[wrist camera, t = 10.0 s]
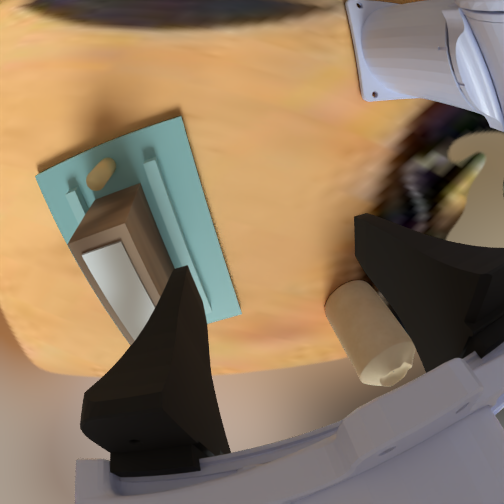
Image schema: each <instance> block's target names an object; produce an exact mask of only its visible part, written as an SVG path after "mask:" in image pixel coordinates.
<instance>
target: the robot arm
mask: <svg viewBox="0 0 504 504" xmlns="http://www.w3.org/2000/svg"><path fill="white" fill-rule="evenodd" d="M357 3H358V4H359V5H360V8H358V7H357ZM345 6H346V11H347V15H348V19H349V24H350V29H351V34H352V39H353V44H354V50H355V56H356V62H357V68H358V74H359V81H360V89H361V96H362V98H363V100H365V101H369V102H371V101H381V100H394V99H409V98H424V99H429V100H433V101H437V102H441V103H445V104H449V105H452V106H456V107H460V108H463V109H466V110H470V111H473V112H476V113H479V114H482V115H484V116H485V117H486V119H487V120H488V123H489V125H490V127H492V128H495V129H497V130H500V131H502V132H504V0H424V1H417V2H411V3H405V4H396V3H389V2H381V1H371V0H347V1H346V3H345ZM373 92H375V96H374V97H373V96H372V93H373ZM354 226H355V256H356V258H357V260H358V261H359V263H360V265H361V267H362V268H363V270H364V271H365V273H366V274H367V276H368V277H369V278H370V279H371V281H372V282H373V283H374V284H375V286H376V287H377V288H378V289H379V291H380V292H381V293H382V294H383V296H384V297H385V298H386V300H387V301H388V302H389V303H390V305H391V306H392V307H393V309H394V310H395V312H396V313H397V315H398V316H399V318H400V320H401V321H402V323H403V325H404V327H405V328H406V330H407V332H408V334H409V336H410V338H411V340H412V342H413V344H414V346H415V348H416V350H417V352H418V354H419V356H420V359H421V361H422V363H423V366H424V368H425V371H426V374H424V375H422V376H420V377H418V378H416V379H414V380H413V381H411V382H409V383H407V384H405V385H403V386H401V387H399V388H397V389H394V390H392V391H390V392H388V393H386V394H384V395H382V396H380V397H377V398H375V399H373V400H371V401H370V402H368V403H366V404H364V405H362V406H361V407H358V408H357V409H356V410H355V411H353V412H352V413H351V414H349V415H348V416H346V417H345V418H344V419H343V420H341V421H338V422H336V423H333V424H331V425H328V426H325V427H322V428H319V429H316V430H313V431H310V432H307V433H304V434H301V435H298V436H295V437H292V438H288V439H285V440H281V441H278V442H274V443H271V444H267V445H263V446H259V447H255V448H251V449H247V450H243V451H238V452H233V453H231V451H230V448H229V445H228V442H227V438H226V435H225V431H224V427H223V423H222V419H221V416H220V412H219V407H218V403H217V399H216V394H215V390H214V386H213V380H212V375H211V368H210V356H209V343H208V329H207V320H206V315H205V310H204V305H203V301H202V298H201V296H200V294H199V291H198V289H197V287H196V284H195V282H194V279H193V277H192V275H191V272H190V270H189V267H188V265H186V266H183V267H179V268H176V269H173V271H172V273H171V275H170V277H169V280H168V282H167V284H166V286H165V288H164V291H163V293H162V295H161V297H160V299H159V301H158V303H157V305H156V307H155V309H154V311H153V313H152V314H151V316H150V318H149V320H148V322H147V323H146V325H145V326H144V328H143V330H142V331H141V332H140V334H139V335H138V337H137V338H136V340H135V341H134V342H133V344H132V345H131V346H130V347H129V349H128V350H127V351H126V352H125V354H124V355H123V356H122V357H121V358H120V360H119V361H118V362H117V363H116V364H115V365H114V366H113V367H112V368H111V369H110V370H109V371H108V372H107V373H106V374H105V375H104V376H103V377H102V378H101V379H100V380H99V381H97V382H96V383H95V384H94V385H93V386H92V387H91V388H89V389H88V390H87V391H86V392H85V393H84V399H83V405H82V413H81V423H80V428H81V430H82V432H83V433H84V434H85V435H86V436H87V437H88V438H89V439H90V440H92V441H93V442H95V443H96V444H98V445H99V446H101V447H102V448H104V449H106V450H107V451H108V452H110V453H111V454H110V461H109V460H105V459H77V460H76V476H75V504H504V429H503V428H502V426H501V424H500V423H499V421H498V420H497V418H496V416H495V415H496V414H497V413H498V412H499V411H500V410H501V409H503V408H504V248H488V247H479V246H471V245H465V244H460V243H455V242H451V241H447V240H443V239H439V238H435V237H432V236H429V235H426V234H423V233H420V232H417V231H414V230H411V229H409V228H406V227H403V226H401V225H398V224H396V223H393V222H390V221H388V220H385V219H383V218H380V217H377V216H374V215H371V214H368V213H365V214H362V215H358V216H355V217H354Z"/></svg>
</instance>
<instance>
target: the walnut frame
mask: <svg viewBox="0 0 504 504" xmlns="http://www.w3.org/2000/svg"><path fill="white" fill-rule="evenodd" d="M67 245H68V247H69V248H70V250H71V252H72V254H73V256H74V258H75V259H76V261H77V263H78V265H79V266H80V268H81V270H82V272H83V273H84V275H85V277H86V278H87V280H88V282H89V283H90V285H91V287H92V288H93V290H94V292H95V293H96V295H97V296H98V298H99V300H100V301H101V303H102V304H103V306H104V307H105V309H106V310H107V312H108V313H109V315H110V316H111V318H112V319H113V321H114V322H115V324H116V325H117V327H118V328H119V330H120V331H121V332H122V334H123V335H124V337H125V338H126V339H127V341H128V342H129V344H130V345H132V344H133V342H134V341H135V340H136V338H137V337H138V335H139V334H140V332H141V331H142V330H143V328H144V326H145V325H146V323H147V322H148V320H149V318H150V316H151V314H152V313H153V311H154V309H155V307H156V305H157V303H158V301H159V299H160V297H161V295H162V293H163V291H164V288H165V286H166V284H167V282H168V280H169V277H170V275H171V273H172V271H173V269H175V268H174V265H173V263H172V261H171V259H170V256H169V254H168V251H167V249H166V247H165V244H164V242H163V239H162V237H161V235H160V232H159V230H158V227H157V225H156V222H155V220H154V217H153V215H152V212H151V210H150V207H149V204H148V202H147V199H146V196H145V194H144V191H143V188H142V186H141V183H139V184H136V185H133V186H130V187H128V188H125V189H122V190H119V191H117V192H114V193H111V194H109V195H106V196H104V197H101V198H98V199H96V200H94V202H93V203H92V205H91V206H90V208H89V210H88V211H87V213H86V214H85V216H84V217H83V219H82V221H81V222H80V224H79V226H78V227H77V229H76V230H75V232H74V234H73V236H72V237H71V239H70V241H69V242H68V244H67Z"/></svg>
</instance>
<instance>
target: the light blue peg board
mask: <svg viewBox="0 0 504 504" xmlns="http://www.w3.org/2000/svg"><path fill="white" fill-rule="evenodd" d="M35 177H36V180H37V182H38V185H39V187H40V189H41V192H42V194H43V196H44V198H45V201H46V203H47V205H48V207H49V209H50V211H51V213H52V216H53V218H54V220H55V222H56V224H57V226H58V228H59V230H60V232H61V234H62V236H63V238H64V239H65V241H66V243H67V244H68V242H69V241H70V239H71V237H72V236H73V234H74V232H75V230H76V229H77V227H78V226H79V224H80V222H81V221H82V219H83V217H84V216H85V214H86V213H87V211H88V210H89V208H90V206H91V205H92V203H93V202H94V200H96V199H98V198H101V197H104V196H106V195H109V194H111V193H114V192H117V191H119V190H122V189H125V188H128V187H130V186H133V185H136V184H139V183H141V186H142V188H143V191H144V194H145V196H146V199H147V202H148V204H149V207H150V210H151V212H152V215H153V217H154V220H155V222H156V225H157V227H158V230H159V232H160V235H161V237H162V239H163V242H164V244H165V247H166V249H167V251H168V254H169V256H170V259H171V261H172V263H173V265H174V268H175V269H176V268H179V267H183V266H186V265H188V267H189V270H190V272H191V275H192V277H193V279H194V282H195V284H196V287H197V289H198V291H199V294H200V296H201V298H202V301H203V305H204V310H205V315H206V320H207V324H208V323H212V322H215V321H219V320H223V319H226V318H230V317H233V316H237V315H240V314H242V312H241V309H240V306H239V303H238V300H237V297H236V294H235V291H234V288H233V285H232V281H231V278H230V275H229V272H228V269H227V266H226V263H225V260H224V257H223V253H222V250H221V247H220V244H219V241H218V238H217V234H216V231H215V228H214V225H213V222H212V218H211V215H210V212H209V208H208V205H207V202H206V199H205V195H204V192H203V189H202V185H201V182H200V179H199V175H198V172H197V169H196V165H195V162H194V158H193V155H192V151H191V148H190V145H189V141H188V138H187V134H186V131H185V127H184V123H183V120H182V116H178V117H175V118H172V119H169V120H166V121H163V122H160V123H157V124H154V125H151V126H148V127H145V128H142V129H139V130H137V131H134V132H131V133H128V134H126V135H123V136H121V137H118V138H115V139H113V140H110V141H108V142H105V143H103V144H101V145H98V146H96V147H94V148H91V149H89V150H87V151H84V152H82V153H80V154H78V155H76V156H73V157H71V158H69V159H67V160H65V161H63V162H61V163H59V164H57V165H55V166H53V167H51V168H49V169H47V170H45V171H43V172H41V173H39V174H37V175H36V176H35ZM69 249H70V248H69ZM70 251H71V250H70ZM71 253H72V252H71ZM75 260H76V259H75ZM76 262H77V261H76ZM79 267H80V266H79ZM80 269H81V268H80ZM83 274H84V273H83ZM86 279H87V278H86ZM87 281H88V280H87ZM89 284H90V283H89ZM92 289H93V288H92ZM95 294H96V293H95ZM97 297H98V296H97ZM100 302H101V301H100ZM102 305H103V304H102ZM104 308H105V307H104ZM106 311H107V310H106ZM108 314H109V313H108ZM110 317H111V316H110ZM112 320H113V319H112ZM114 323H115V322H114ZM116 326H117V325H116ZM121 333H122V332H121ZM123 336H124V335H123ZM126 340H127V339H126ZM128 343H129V342H128Z"/></svg>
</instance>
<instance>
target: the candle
mask: <svg viewBox="0 0 504 504" xmlns="http://www.w3.org/2000/svg"><path fill="white" fill-rule="evenodd" d="M325 314H326V317H327V319H328V321H329V323H330V324H331V326H332V328H333V330H334V332H335V333H336V335H337V337H338V339H339V341H340V343H341V345H342V346H343V348H344V350H345V352H346V354H347V356H348V358H349V359H350V361H351V363H352V365H353V367H354V368H355V371H356V372H357V374H358V376H359V378H360V380H361V382H363V383H365V384H369V385H378V386H392V385H394V384H396V383H397V382H398V381H400V380H401V379H402V378H403V377H405V376H406V373H407V371H408V369H410V368H411V367H412V363H413V358H414V353H415V346H414V344H413V342H412V340H411V338H410V337H409V336H408V334H407V333H406V332H405V330H404V329H403V327H402V326H401V325H400V323H399V322H398V321H397V319H396V318H395V317H394V315H393V314H392V313H391V311H390V310H389V309H388V307H387V306H386V305H385V303H384V302H383V301H382V299H381V298H380V297H379V295H378V294H377V293H376V292H375V290H374V289H373V288H372V287H371V286H370V285H369V284H368V283H367V282H365V281H362V280H355V281H350V282H348V283H345V284H343V285H342V286H340V287H339V288H337V289H336V290H335V291H334V292H333V293H332V294H331V295H330V297H329V298H328V300H327V302H326V305H325Z"/></svg>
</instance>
